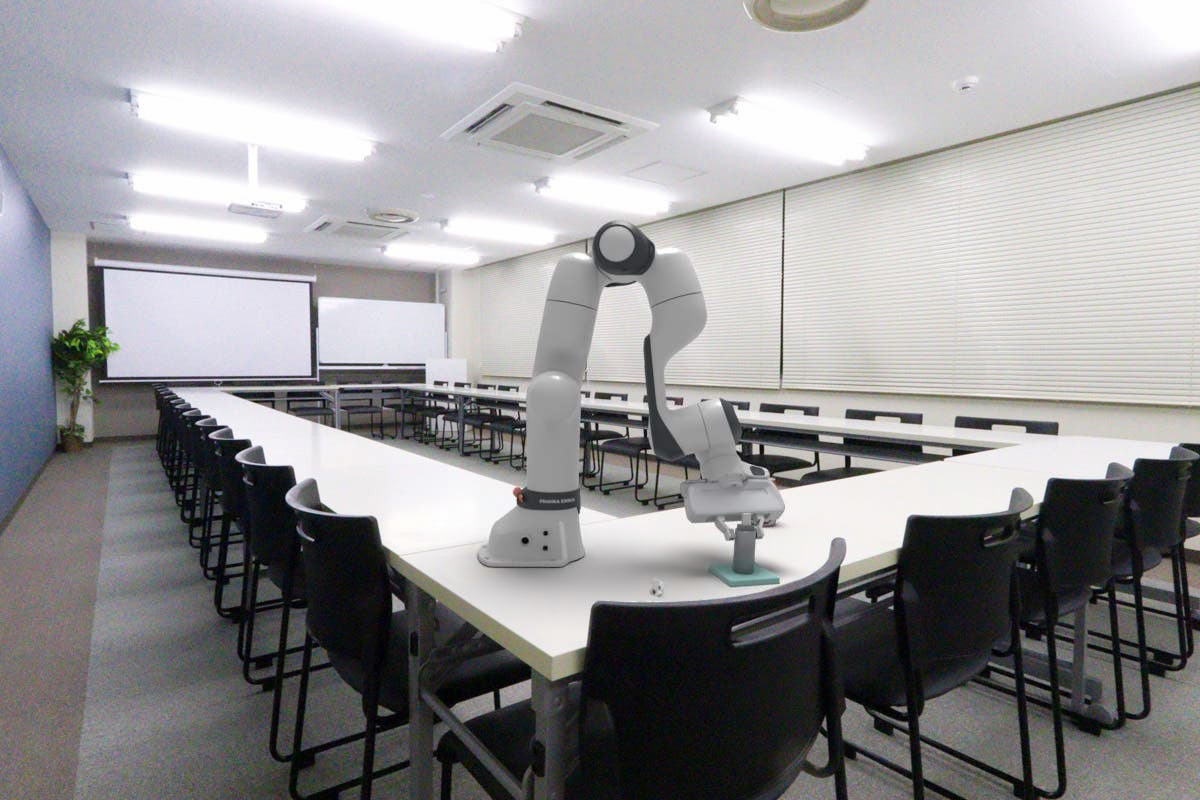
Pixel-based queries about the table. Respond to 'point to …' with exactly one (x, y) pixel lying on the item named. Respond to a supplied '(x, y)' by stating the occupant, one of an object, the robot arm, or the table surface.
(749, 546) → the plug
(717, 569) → the pad
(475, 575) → the table surface
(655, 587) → the power adapter
